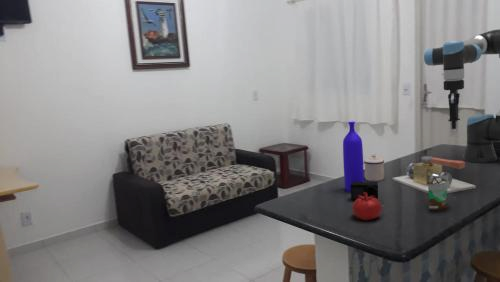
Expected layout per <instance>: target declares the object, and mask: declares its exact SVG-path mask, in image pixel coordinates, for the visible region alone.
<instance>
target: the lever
mask: <svg viewBox="0 0 500 282" xmlns="http://www.w3.org/2000/svg"><path fill="white" fill-rule="evenodd" d="M420 160H421V162H423V163H433V164H439V165H442V166H444V167H445V166H446V167H450V168H453V169H459V170H460V169H463V168H466V161H465V160H458V159H457V160H453V159H447V158H439V157H434V156H431V155H429V156H428V155H425V156H421V159H420Z"/></svg>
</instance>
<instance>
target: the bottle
mask: <svg viewBox="0 0 500 282" xmlns="http://www.w3.org/2000/svg"><path fill="white" fill-rule="evenodd" d="M347 123H348V125H349V126H348V127H349V131H348V132H347V134H345V136H344V137H343V139H342V140H343V141H342V157H343V158H342V159H343V160H342V163H343V180H344V189H345V190H346V192H349V193H351V182H365V173H364V170H365V168H364V164H363V162H364V152H363V151H364V149H363V140H362V138H361V136H360V135H359V134H358V133H357V132H356V131H355V123H356V121H353V120H352V121H348V122H347Z"/></svg>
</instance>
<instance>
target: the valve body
mask: <svg viewBox="0 0 500 282" xmlns="http://www.w3.org/2000/svg"><path fill="white" fill-rule="evenodd" d="M405 174H406V175H407V176H409V177H412V178H414V182H417V183H420V184H422V185H425V186H429V184H431V181H432V180H433V176H438V177H443V178H446V179H447V180H448V182H449V185H450V184H451V182H452V179H453V177H452V174H451V172H450V173H449V172H447V171H443V165H439V164H433V163H423V162H422V161H421V162H418V163H415V162H410V163H409V164H407V165H406V167H405Z"/></svg>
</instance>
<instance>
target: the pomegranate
mask: <svg viewBox="0 0 500 282" xmlns="http://www.w3.org/2000/svg"><path fill="white" fill-rule="evenodd" d="M363 194H364V197H363V196H361V195H359V196H360V197H359V198H358V199H356V200H355V201H353V204H352V209H351V210H352V213H353V215H354V216H355V218H356V219H359V220H362V221H370V220H374V219H376V218H378V217H380V215H381V213H382V211H383V210H382V209H383V207H382V204H381V202H380V201H379V198H378V199H376V198H374V197H372V196H370V197H367V193H366V192H364V193H363Z"/></svg>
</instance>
